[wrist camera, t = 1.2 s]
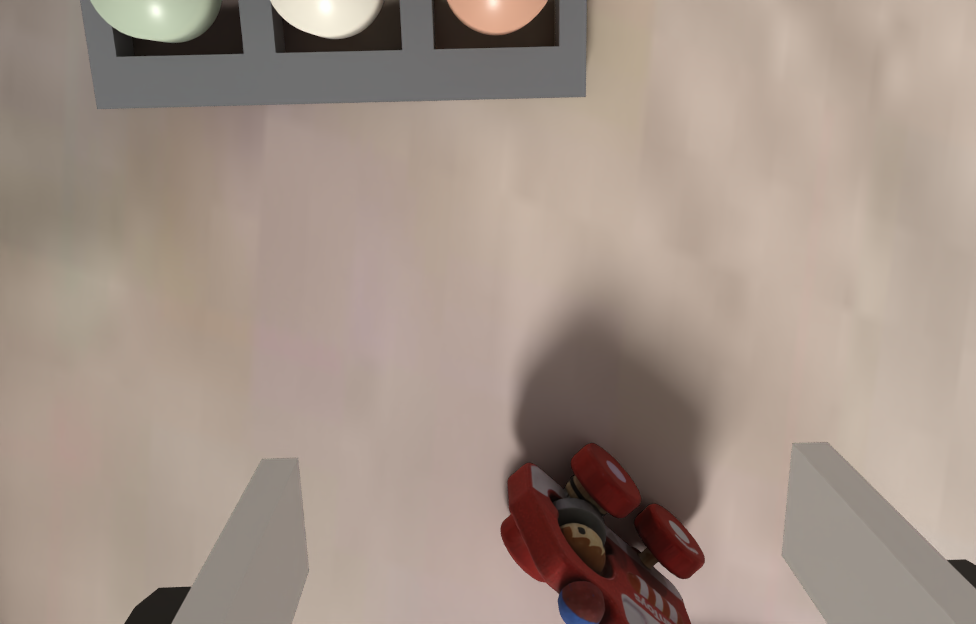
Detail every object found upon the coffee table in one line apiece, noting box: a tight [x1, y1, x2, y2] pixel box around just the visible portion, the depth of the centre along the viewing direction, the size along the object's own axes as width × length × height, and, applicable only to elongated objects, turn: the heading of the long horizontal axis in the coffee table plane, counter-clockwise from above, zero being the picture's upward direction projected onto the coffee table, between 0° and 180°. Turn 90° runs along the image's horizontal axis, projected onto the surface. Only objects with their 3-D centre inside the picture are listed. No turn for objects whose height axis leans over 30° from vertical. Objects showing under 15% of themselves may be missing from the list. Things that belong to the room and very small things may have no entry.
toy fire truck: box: [501, 443, 705, 624], centre depth 39 cm, size 7×12×10 cm, turn 45°
